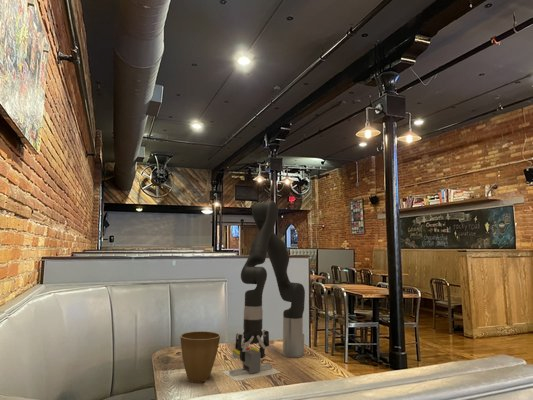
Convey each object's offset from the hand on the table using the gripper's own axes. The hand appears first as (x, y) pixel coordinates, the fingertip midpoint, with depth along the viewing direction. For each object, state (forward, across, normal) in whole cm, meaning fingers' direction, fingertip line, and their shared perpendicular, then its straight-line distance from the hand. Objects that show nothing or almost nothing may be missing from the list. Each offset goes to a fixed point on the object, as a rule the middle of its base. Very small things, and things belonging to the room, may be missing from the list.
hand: (252, 359), depth 146 cm
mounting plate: (+6, 0, 0) cm, 6 cm away
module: (+4, 0, 0) cm, 4 cm away
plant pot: (+6, +20, -5) cm, 22 cm away
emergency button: (+6, -11, -22) cm, 26 cm away
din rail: (+6, 0, 0) cm, 6 cm away
